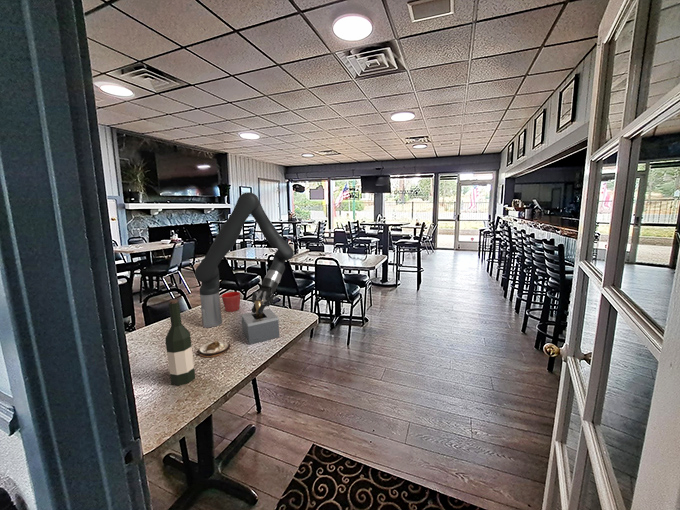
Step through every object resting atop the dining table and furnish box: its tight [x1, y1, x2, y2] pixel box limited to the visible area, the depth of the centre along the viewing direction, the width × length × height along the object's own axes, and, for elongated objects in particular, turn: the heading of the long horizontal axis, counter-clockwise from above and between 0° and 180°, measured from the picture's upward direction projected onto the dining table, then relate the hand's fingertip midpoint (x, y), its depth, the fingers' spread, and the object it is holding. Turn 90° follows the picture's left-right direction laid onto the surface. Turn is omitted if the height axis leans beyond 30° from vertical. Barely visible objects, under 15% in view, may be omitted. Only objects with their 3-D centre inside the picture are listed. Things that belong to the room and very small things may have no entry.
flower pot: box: [221, 291, 241, 313], centre depth 179 cm, size 11×11×10 cm
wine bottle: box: [164, 298, 196, 387], centre depth 107 cm, size 8×8×30 cm
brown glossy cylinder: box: [255, 300, 263, 320], centre depth 142 cm, size 3×3×9 cm
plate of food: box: [198, 339, 232, 359], centre depth 130 cm, size 15×15×4 cm
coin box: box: [240, 308, 280, 346], centre depth 143 cm, size 14×14×10 cm
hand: (256, 312), depth 140 cm, fingers closed on brown glossy cylinder, 3 cm apart
